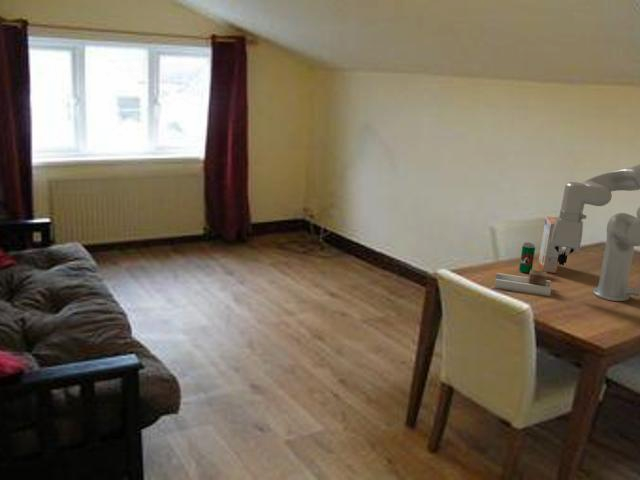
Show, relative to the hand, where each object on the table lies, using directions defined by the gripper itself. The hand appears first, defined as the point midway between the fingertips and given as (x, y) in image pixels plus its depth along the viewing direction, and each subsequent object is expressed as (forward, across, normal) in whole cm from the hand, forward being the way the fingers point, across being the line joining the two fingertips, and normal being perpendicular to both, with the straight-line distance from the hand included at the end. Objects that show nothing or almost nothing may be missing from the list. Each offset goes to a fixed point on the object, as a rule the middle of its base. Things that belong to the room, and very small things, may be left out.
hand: (561, 264), depth 229 cm
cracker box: (+12, +2, -32) cm, 34 cm away
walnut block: (+12, +7, 0) cm, 14 cm away
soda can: (+12, +11, -22) cm, 28 cm away
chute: (+12, +12, 0) cm, 17 cm away
